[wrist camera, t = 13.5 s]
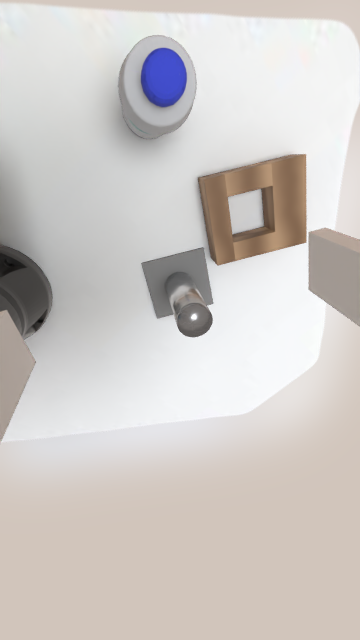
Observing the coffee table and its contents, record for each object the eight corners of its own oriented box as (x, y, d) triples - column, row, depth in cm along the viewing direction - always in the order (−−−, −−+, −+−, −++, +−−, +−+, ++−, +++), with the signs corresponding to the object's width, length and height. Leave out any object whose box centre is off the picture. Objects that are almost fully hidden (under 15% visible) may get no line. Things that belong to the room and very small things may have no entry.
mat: (157, 317, 53) (157, 318, 52) (141, 263, 48) (141, 263, 48) (212, 302, 53) (213, 303, 53) (202, 247, 48) (203, 248, 48)
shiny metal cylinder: (168, 301, 51) (181, 341, 40) (162, 276, 49) (173, 311, 38) (195, 293, 51) (215, 331, 40) (189, 268, 49) (209, 301, 38)
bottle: (183, 122, 40) (227, 94, 23) (140, 152, 41) (152, 148, 23) (154, 65, 37) (181, -19, 19) (109, 99, 38) (95, 48, 20)
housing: (211, 257, 49) (217, 265, 46) (197, 177, 43) (204, 179, 40) (293, 236, 50) (306, 242, 46) (291, 154, 44) (306, 154, 40)
